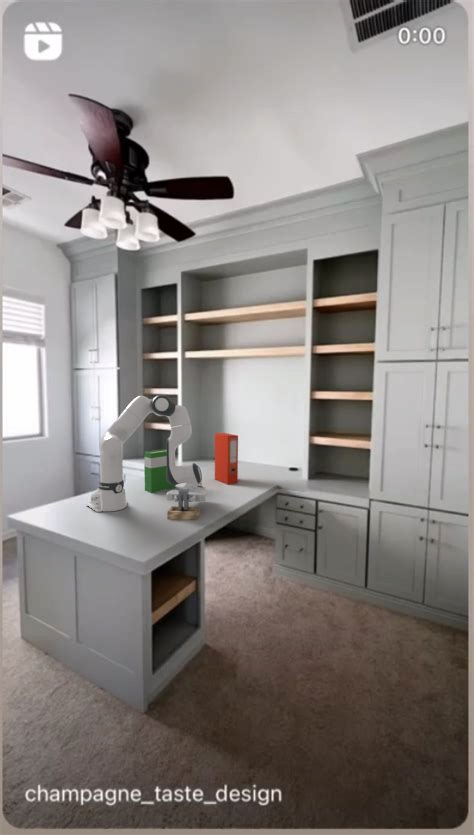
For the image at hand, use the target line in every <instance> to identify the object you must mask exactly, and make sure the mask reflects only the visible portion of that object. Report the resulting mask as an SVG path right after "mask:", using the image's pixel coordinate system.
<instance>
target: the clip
mask: <svg viewBox="0 0 474 835" xmlns="http://www.w3.org/2000/svg"><path fill="white" fill-rule="evenodd" d="M178 490H179V499H178V506H177V507H178V511H183V507H184V511H189V507H190V504H189V503H190V502H189V489H182V488H181V489H178ZM183 495H184V501H183Z"/></svg>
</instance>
